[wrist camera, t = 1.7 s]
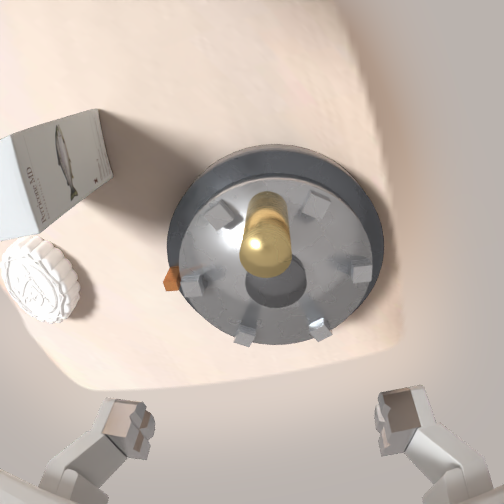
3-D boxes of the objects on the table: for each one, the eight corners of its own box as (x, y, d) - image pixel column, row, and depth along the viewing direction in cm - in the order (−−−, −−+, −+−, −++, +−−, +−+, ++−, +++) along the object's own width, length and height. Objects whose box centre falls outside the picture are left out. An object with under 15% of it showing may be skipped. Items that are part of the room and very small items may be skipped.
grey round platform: (154, 161, 28) (130, 180, 24) (375, 136, 26) (396, 149, 21) (200, 327, 38) (191, 361, 33) (369, 313, 36) (380, 347, 31)
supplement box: (116, 178, 29) (41, 238, 18) (60, 189, 30) (-16, 247, 19) (100, 105, 26) (10, 133, 15) (43, 125, 26) (-45, 161, 15)
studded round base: (164, 187, 26) (122, 235, 19) (367, 164, 24) (408, 206, 16) (206, 335, 34) (191, 401, 27) (362, 322, 32) (380, 389, 25)
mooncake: (0, 252, 35) (-14, 265, 32) (45, 219, 32) (28, 233, 29) (47, 317, 40) (35, 333, 37) (98, 298, 37) (86, 317, 34)
